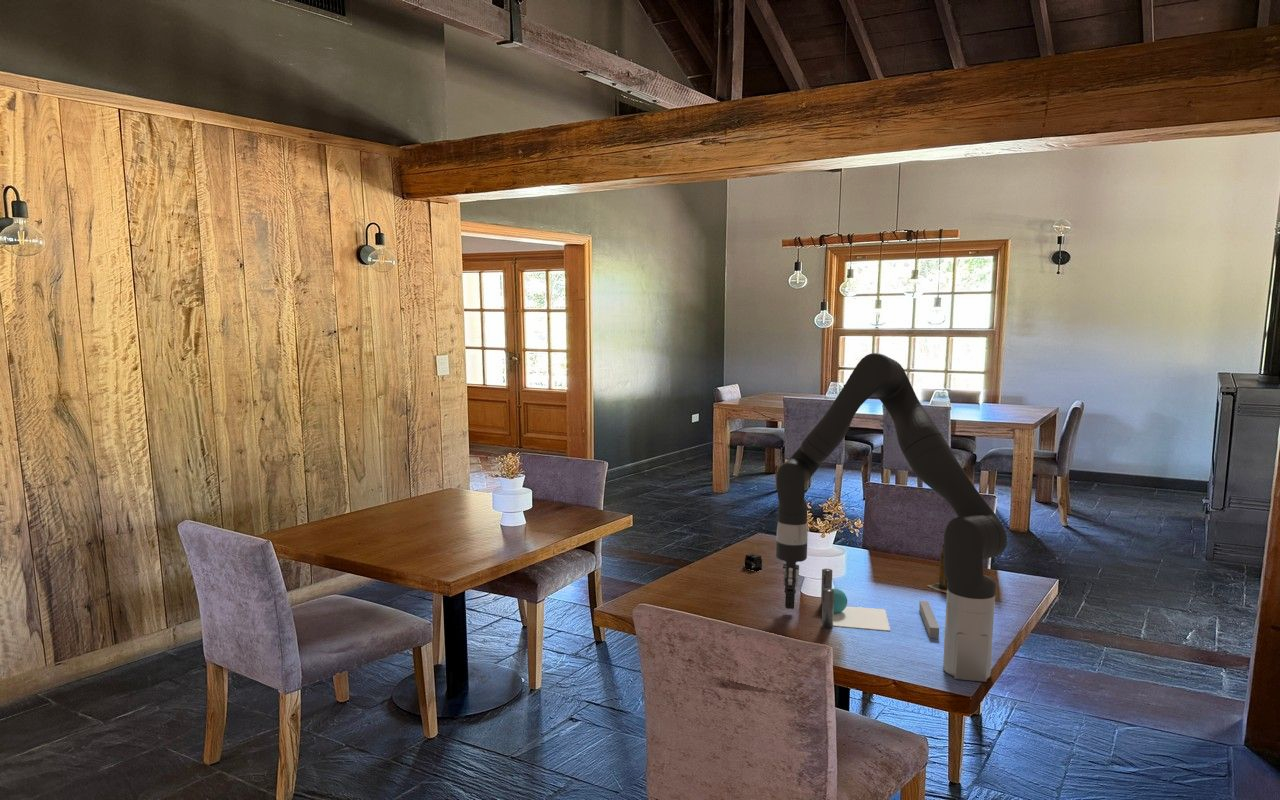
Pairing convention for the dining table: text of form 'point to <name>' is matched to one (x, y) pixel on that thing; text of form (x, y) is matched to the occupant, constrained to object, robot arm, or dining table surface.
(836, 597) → the ball
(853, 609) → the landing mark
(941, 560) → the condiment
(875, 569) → the dining table surface
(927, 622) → the wall
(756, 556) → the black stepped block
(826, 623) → the post front
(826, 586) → the post back
